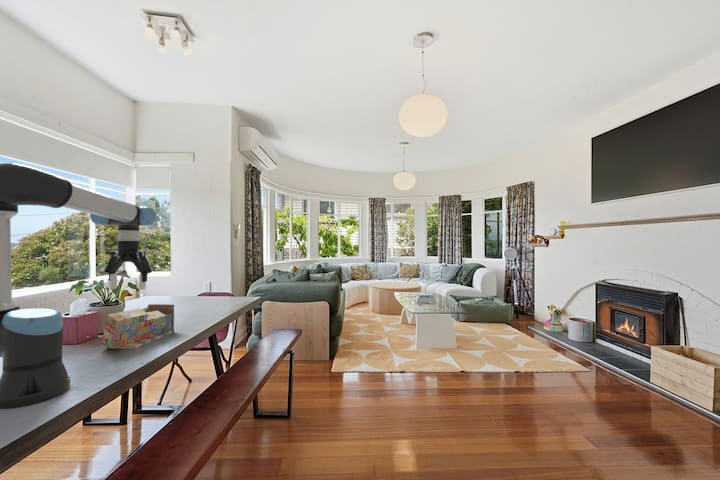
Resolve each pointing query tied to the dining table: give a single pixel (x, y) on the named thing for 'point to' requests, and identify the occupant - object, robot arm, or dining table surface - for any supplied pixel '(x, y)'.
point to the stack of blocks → (132, 327)
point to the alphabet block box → (168, 328)
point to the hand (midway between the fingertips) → (127, 289)
